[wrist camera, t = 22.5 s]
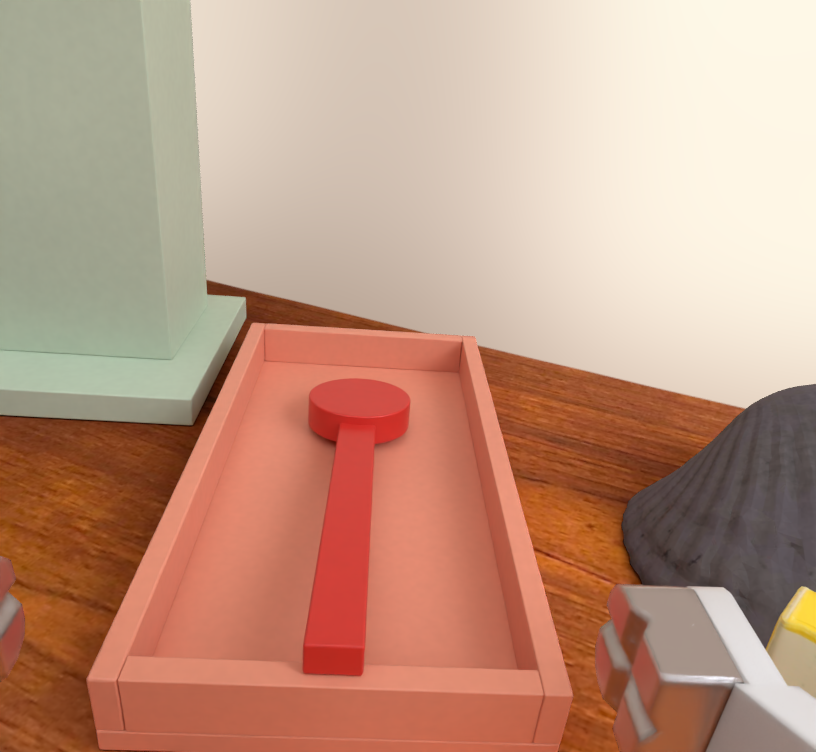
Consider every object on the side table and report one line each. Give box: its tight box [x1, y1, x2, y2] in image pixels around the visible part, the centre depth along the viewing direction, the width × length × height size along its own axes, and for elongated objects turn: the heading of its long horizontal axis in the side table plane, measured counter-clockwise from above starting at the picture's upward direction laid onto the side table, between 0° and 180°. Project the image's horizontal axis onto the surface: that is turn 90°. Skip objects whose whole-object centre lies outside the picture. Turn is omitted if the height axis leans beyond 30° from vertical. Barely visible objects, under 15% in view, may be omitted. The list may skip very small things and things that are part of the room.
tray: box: [86, 323, 573, 752], centre depth 29 cm, size 13×24×3 cm, turn 1°
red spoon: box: [302, 378, 411, 676], centre depth 26 cm, size 18×5×1 cm, turn 1°
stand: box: [0, 0, 246, 425], centre depth 33 cm, size 14×14×27 cm
